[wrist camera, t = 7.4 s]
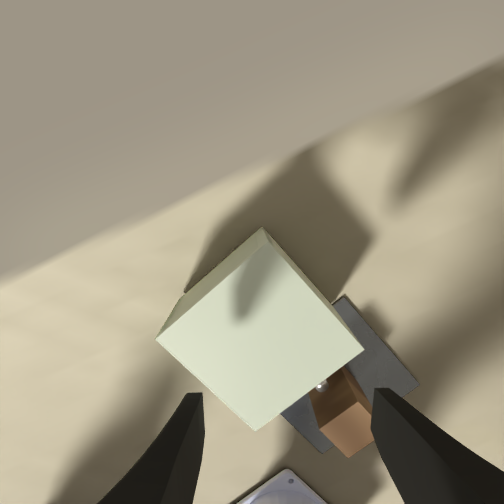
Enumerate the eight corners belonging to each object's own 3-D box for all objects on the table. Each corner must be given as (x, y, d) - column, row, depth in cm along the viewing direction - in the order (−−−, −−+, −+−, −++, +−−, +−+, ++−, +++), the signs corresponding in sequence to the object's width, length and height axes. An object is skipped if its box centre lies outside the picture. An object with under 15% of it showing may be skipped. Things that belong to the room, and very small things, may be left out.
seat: (418, 383, 23) (446, 414, 19) (321, 451, 24) (332, 491, 21) (343, 296, 21) (360, 315, 18) (243, 375, 22) (242, 406, 19)
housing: (333, 307, 21) (364, 349, 15) (253, 371, 22) (255, 431, 16) (261, 226, 19) (268, 241, 14) (179, 299, 20) (155, 339, 15)
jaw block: (334, 355, 22) (358, 401, 17) (356, 380, 22) (386, 432, 18) (303, 377, 22) (319, 429, 17) (326, 402, 23) (347, 458, 18)
